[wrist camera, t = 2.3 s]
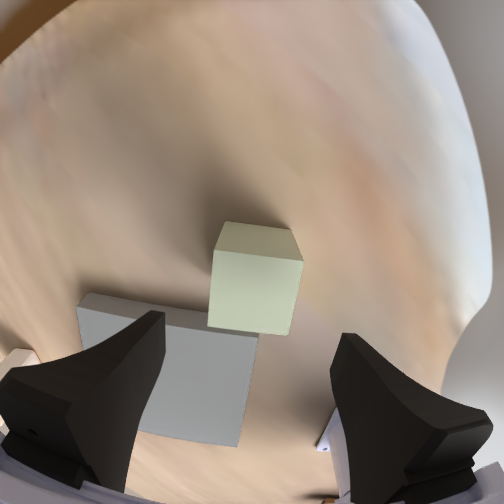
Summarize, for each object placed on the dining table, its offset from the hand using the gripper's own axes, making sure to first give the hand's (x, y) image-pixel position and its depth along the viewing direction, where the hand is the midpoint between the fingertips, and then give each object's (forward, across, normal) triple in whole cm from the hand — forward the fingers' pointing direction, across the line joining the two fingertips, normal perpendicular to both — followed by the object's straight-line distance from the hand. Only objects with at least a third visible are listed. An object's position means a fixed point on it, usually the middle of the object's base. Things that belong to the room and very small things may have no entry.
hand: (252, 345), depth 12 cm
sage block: (+10, 0, 0) cm, 10 cm away
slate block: (+11, +6, +12) cm, 17 cm away
